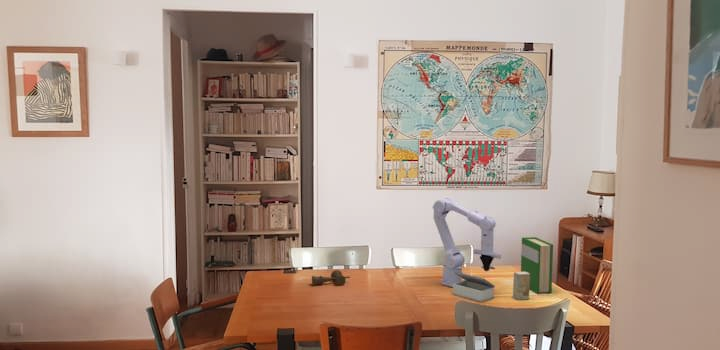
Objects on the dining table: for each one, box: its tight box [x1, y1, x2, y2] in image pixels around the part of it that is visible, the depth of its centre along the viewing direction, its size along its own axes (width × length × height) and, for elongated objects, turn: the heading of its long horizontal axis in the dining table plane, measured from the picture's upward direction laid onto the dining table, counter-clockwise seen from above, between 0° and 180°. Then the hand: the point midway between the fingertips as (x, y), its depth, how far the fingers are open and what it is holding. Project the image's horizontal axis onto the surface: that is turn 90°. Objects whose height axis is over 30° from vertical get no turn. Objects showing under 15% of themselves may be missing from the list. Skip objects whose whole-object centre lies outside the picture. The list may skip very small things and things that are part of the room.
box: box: [452, 280, 495, 303], centre depth 255 cm, size 16×10×5 cm, turn 43°
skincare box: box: [512, 271, 530, 301], centre depth 252 cm, size 6×4×12 cm
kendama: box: [311, 269, 351, 287], centre depth 275 cm, size 6×10×20 cm
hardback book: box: [520, 236, 554, 295], centre depth 267 cm, size 18×7×24 cm, turn 9°
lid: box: [454, 272, 496, 288], centre depth 255 cm, size 17×10×1 cm, turn 43°
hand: (486, 270), depth 262 cm, fingers closed
